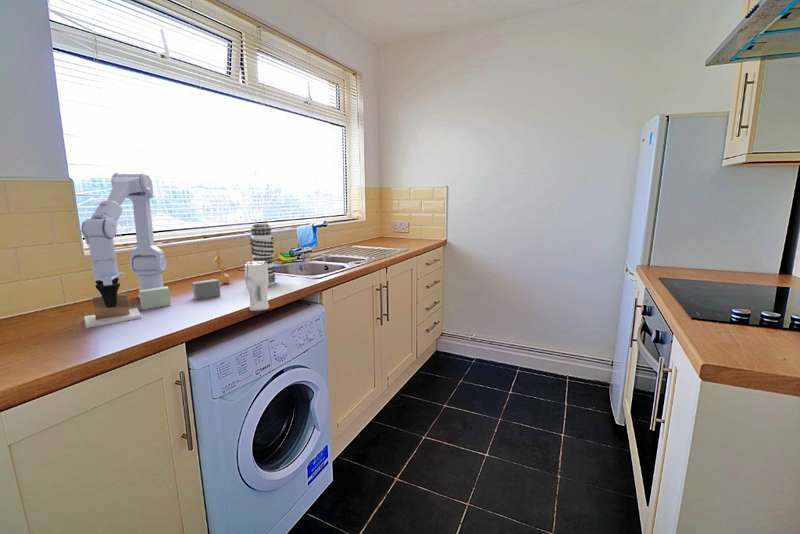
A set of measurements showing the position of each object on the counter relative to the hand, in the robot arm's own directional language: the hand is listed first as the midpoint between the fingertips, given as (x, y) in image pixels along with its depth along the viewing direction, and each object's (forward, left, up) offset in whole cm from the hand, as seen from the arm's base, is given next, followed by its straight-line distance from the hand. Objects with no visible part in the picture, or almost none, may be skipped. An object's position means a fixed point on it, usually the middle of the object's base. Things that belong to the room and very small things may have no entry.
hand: (111, 304), depth 112 cm
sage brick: (-7, +12, -4) cm, 15 cm away
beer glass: (+19, +37, -5) cm, 42 cm away
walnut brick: (0, 0, -3) cm, 3 cm away
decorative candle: (-15, +52, -5) cm, 54 cm away
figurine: (-27, +39, -5) cm, 48 cm away
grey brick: (-8, +28, -4) cm, 29 cm away
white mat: (0, 0, -4) cm, 4 cm away
